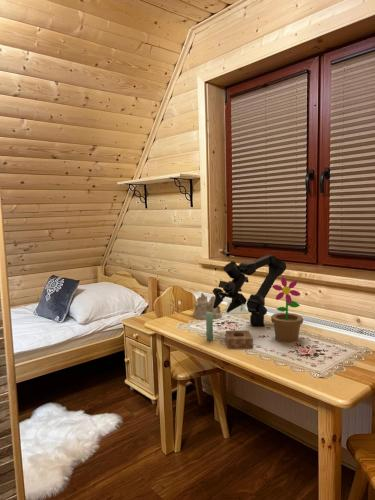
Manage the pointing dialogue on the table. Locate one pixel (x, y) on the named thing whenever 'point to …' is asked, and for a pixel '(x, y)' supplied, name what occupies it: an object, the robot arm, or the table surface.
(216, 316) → the ceramic cottage
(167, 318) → the table surface
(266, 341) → the table surface
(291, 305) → the flowerpot
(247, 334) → the hole block
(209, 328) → the peg
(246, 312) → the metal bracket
